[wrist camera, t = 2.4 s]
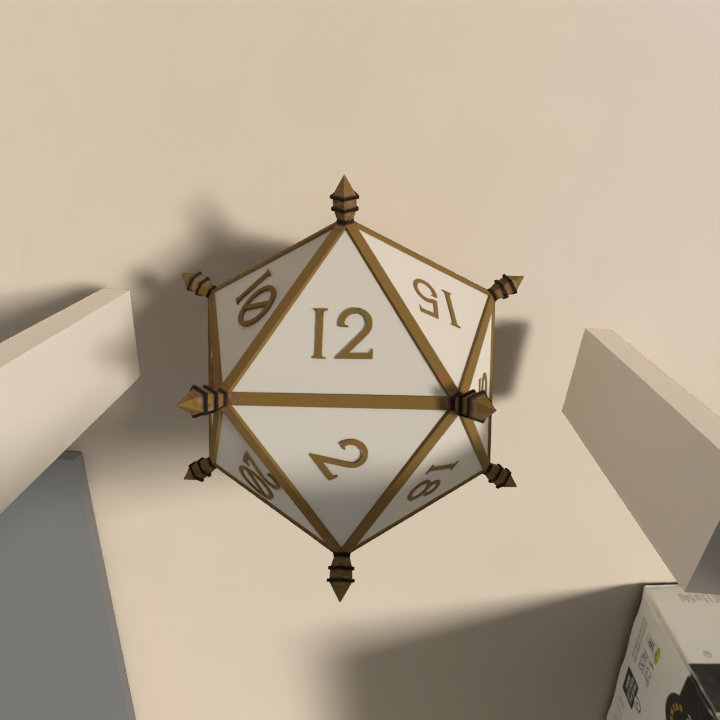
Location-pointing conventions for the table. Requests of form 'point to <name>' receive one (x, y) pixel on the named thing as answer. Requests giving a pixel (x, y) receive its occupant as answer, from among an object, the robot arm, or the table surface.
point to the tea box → (671, 658)
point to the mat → (57, 606)
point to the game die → (348, 383)
